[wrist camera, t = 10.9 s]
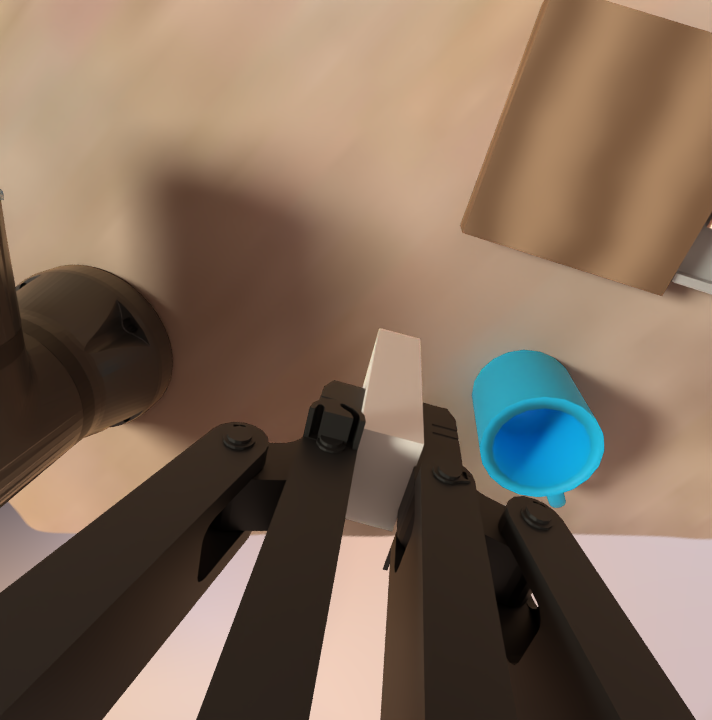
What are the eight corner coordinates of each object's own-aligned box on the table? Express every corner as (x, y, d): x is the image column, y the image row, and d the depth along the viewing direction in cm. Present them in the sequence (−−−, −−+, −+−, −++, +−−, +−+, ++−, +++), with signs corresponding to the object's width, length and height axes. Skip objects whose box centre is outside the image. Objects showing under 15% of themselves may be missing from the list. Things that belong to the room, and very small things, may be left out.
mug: (459, 367, 40) (464, 416, 33) (559, 336, 38) (589, 381, 30) (500, 479, 44) (513, 545, 37) (593, 457, 42) (627, 524, 34)
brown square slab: (460, 225, 35) (462, 232, 32) (542, 3, 30) (555, -15, 26) (641, 282, 35) (662, 296, 32) (761, 70, 29) (801, 59, 26)
